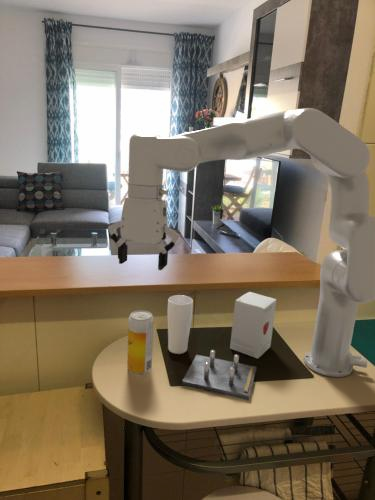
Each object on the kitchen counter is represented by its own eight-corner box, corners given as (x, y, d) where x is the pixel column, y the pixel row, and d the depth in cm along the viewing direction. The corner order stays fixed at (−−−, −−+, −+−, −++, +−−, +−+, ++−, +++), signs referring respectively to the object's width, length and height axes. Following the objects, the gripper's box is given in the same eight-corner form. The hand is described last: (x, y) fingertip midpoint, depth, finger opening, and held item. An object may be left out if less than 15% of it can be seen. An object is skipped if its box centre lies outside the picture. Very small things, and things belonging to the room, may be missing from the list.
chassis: (256, 370, 108) (258, 352, 106) (248, 400, 96) (251, 380, 94) (196, 358, 112) (197, 341, 110) (182, 385, 100) (183, 366, 98)
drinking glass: (193, 347, 117) (197, 298, 113) (183, 358, 111) (186, 306, 107) (172, 341, 120) (174, 292, 116) (160, 352, 114) (163, 301, 110)
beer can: (135, 360, 109) (137, 307, 105) (156, 367, 107) (158, 313, 102) (122, 371, 104) (123, 316, 100) (143, 379, 101) (145, 322, 97)
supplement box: (258, 359, 113) (264, 309, 109) (229, 349, 118) (233, 299, 114) (271, 346, 121) (277, 298, 116) (243, 337, 125) (248, 290, 121)
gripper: (187, 194, 94) (182, 266, 99) (116, 186, 98) (115, 255, 103) (177, 198, 87) (172, 276, 92) (101, 190, 91) (100, 264, 96)
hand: (142, 265), depth 97 cm, fingers open, 9 cm apart
